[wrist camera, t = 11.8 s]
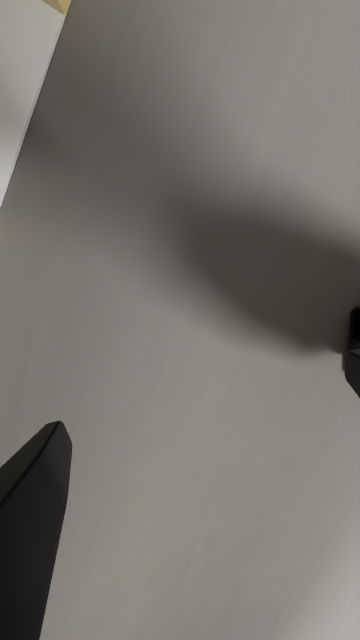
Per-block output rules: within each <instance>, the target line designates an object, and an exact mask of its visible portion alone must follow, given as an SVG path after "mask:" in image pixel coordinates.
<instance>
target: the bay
mask: <svg viewBox="0 0 360 640" xmlns="http://www.w3.org/2000/svg"><path fill="white" fill-rule="evenodd" d="M70 3H71V0H0V208H1V205H2V202H3V199H4V196H5V193H6V190H7V187H8V184H9V181H10V178H11V175H12V172H13V170H14V167H15V164H16V161H17V158H18V155H19V152H20V149H21V146H22V143H23V140H24V137H25V134H26V132H27V129H28V126H29V123H30V120H31V117H32V114H33V111H34V108H35V105H36V102H37V99H38V96H39V93H40V91H41V88H42V85H43V82H44V79H45V76H46V73H47V70H48V67H49V64H50V61H51V58H52V55H53V53H54V50H55V47H56V44H57V41H58V38H59V35H60V32H61V29H62V26H63V23H64V20H65V17H66V15H67V12H68V9H69V6H70Z"/></svg>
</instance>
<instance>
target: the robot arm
mask: <svg viewBox="0 0 360 640" xmlns="http://www.w3.org/2000/svg"><path fill="white" fill-rule="evenodd" d="M359 312H360V307H357V308H355V309H354V310H353V311H352V312H351V329H350V343H349V351H348V352H347V353H346V355H345V378H346V380H347V382H348V383H349V384H350V386H351V387H352V388H353V390H354V391H355V392H356V394H357V395H358V396H359V398H360V314H359V315H358V313H359ZM357 315H358V316H357ZM71 457H72V442H71V439H70V437H69V435H68V432H67V430H66V428H65V426H64V424H63V422H62V421H56V422H52V423H48V424H46V425H45V426H44V427H43V428H42V429H41V430H40V431H39V432H38V433H37V434H36V435H34V436H33V437H32V438H31V439H30V440H29V441H28V442H27V443H26V444H25V445H24V446H23V447H22V448H21V449H20V450H19V451H17V452H16V453H15V454H14V455H13V456H12V457H11V458H10V459H9V460H8V461H7V462H6V463H5V464H4V465H3V466H2V467H0V640H39V639H40V634H41V629H42V624H43V619H44V614H45V609H46V604H47V599H48V594H49V589H50V584H51V579H52V574H53V569H54V564H55V559H56V554H57V549H58V544H59V539H60V534H61V530H62V525H63V520H64V515H65V510H66V504H67V498H68V489H69V479H70V468H71Z"/></svg>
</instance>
